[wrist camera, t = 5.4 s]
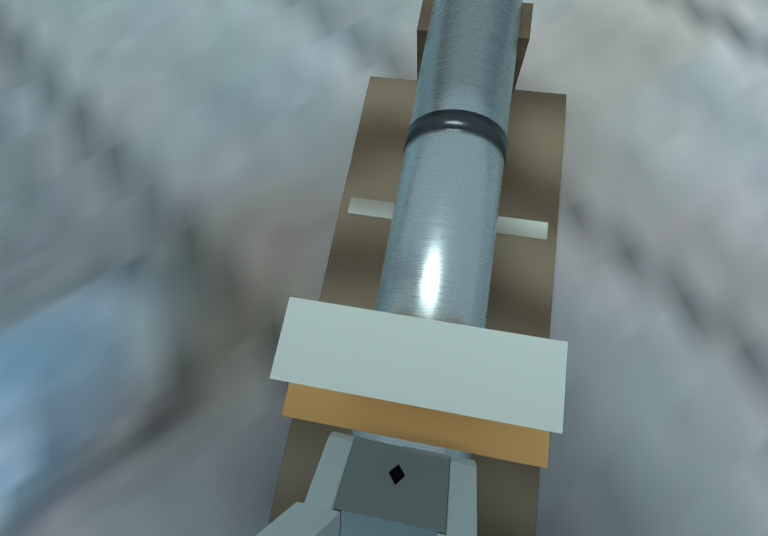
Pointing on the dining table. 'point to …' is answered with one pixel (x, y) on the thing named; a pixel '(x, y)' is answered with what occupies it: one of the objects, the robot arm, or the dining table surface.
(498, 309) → the pipe stand
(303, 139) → the dining table surface
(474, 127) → the pipe
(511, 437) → the orange pipe clamp
